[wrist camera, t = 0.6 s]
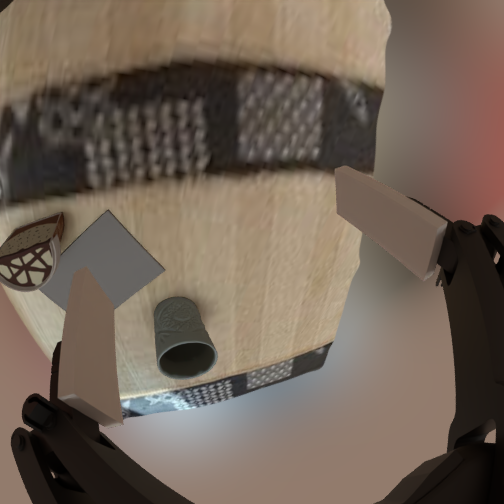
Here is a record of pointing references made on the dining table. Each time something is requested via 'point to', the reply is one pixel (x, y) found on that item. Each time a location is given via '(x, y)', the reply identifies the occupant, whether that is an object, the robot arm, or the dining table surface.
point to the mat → (104, 263)
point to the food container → (32, 254)
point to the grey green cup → (182, 340)
